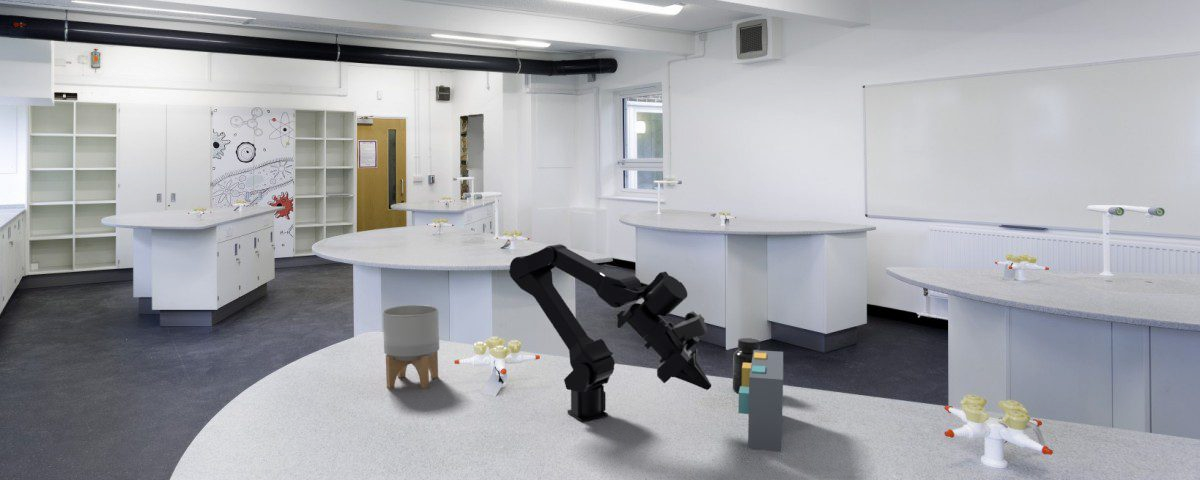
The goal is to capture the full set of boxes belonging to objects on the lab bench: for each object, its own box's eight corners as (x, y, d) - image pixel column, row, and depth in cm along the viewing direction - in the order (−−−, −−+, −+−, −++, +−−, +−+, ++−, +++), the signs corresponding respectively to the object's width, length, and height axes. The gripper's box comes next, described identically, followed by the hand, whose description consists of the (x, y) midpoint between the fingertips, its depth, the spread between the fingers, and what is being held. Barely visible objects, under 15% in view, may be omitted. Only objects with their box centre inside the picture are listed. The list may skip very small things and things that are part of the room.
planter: (423, 371, 181) (421, 302, 180) (450, 382, 172) (448, 310, 170) (375, 381, 173) (373, 310, 171) (401, 394, 163) (398, 318, 161)
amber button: (741, 387, 143) (741, 367, 143) (742, 381, 147) (743, 362, 147) (759, 388, 142) (760, 368, 142) (760, 382, 146) (760, 363, 146)
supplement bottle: (762, 396, 161) (764, 344, 160) (732, 394, 162) (733, 343, 161) (762, 387, 168) (763, 337, 166) (732, 385, 169) (733, 336, 168)
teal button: (738, 413, 134) (738, 392, 133) (739, 406, 138) (740, 386, 137) (757, 414, 133) (758, 394, 132) (758, 407, 137) (759, 387, 136)
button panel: (747, 448, 131) (749, 375, 130) (752, 412, 150) (753, 348, 149) (781, 451, 129) (783, 378, 128) (781, 414, 149) (783, 350, 147)
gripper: (674, 310, 127) (736, 374, 126) (688, 293, 145) (743, 348, 143) (632, 351, 130) (691, 414, 128) (651, 329, 148) (703, 384, 146)
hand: (709, 388), depth 136 cm, fingers closed
